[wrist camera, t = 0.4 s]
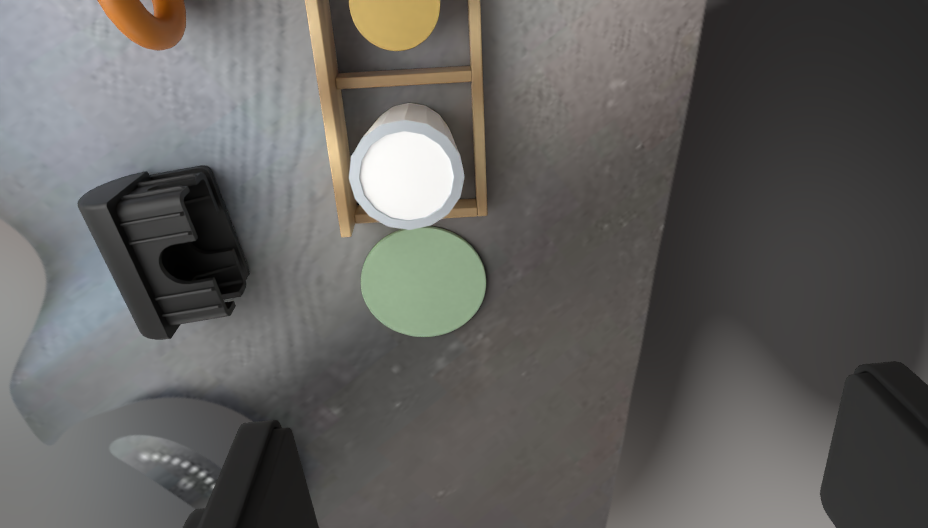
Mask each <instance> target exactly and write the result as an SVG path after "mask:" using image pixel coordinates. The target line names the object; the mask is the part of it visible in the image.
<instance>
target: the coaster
mask: <svg viewBox="0 0 928 528" xmlns="http://www.w3.org/2000/svg"><path fill="white" fill-rule="evenodd" d="M361 290H362V295H363V298H364V300H365V303H366V304H367V306H368V308H369V310H370V311H371V312H372V314H373V315H374V316H375V317H376V318H377V319H378V320H379V321H380V322H382V323H383V324H384V325H386V326H387V327H389V328H391V329H393V330H395V331H397V332H400V333H403V334H406V335H410V336H418V337H431V336H438V335H442V334H445V333H448V332H451V331H453V330H455V329H457V328H459V327H460V326H462V325H464V324H465V323H466V322H467V321H468V320H470V319H471V317H472V316H473V315H474V314H475V313H476V311H477V310H478V309H479V307H480V305H481V303H482V301H483V298H484V295H485V290H486V275H485V270H484V266H483V263H482V261H481V259H480V257H479V255H478V254H477V252H476V251H475V249H474V248H473V247H472V246H471V245H470V244H469V243H468V242H467V241H466V240H464V239H463V238H462V237H460V236H459V235H457V234H455V233H453V232H451V231H448V230H445V229H442V228H438V227H433V226H426V227H421V228H417V229H412V230H407V229H400V230H398V231H395V232H393V233H391V234H389V235H387V236H386V237H385V238H383V239H382V240H380V241H379V242H378V243H377V244H376V245H375V246H374V247H373V249H372V250H371V251H370V253H369V254H368V256H367V258H366V260H365V262H364V265H363V269H362V273H361Z"/></svg>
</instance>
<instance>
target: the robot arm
mask: <svg viewBox="0 0 928 528" xmlns="http://www.w3.org/2000/svg"><path fill="white" fill-rule="evenodd" d="M820 495H821V501H822V505H823V508H824V510H825V511H826V513H827V515H828V516H829V518H830V519H831V521H832V522H833V524H834V525H835V527H836V528H928V385H927V384H926V383H925V382H923V381H922V380H921V379H920V378H919V377H918V376H917V375H916V374H914V373H913V372H912V371H911V370H910V369H909V368H908V367H906V366H905V365H904V364H902V363H901V362H896V361H893V362H883V363H872V364H863V365H859V366H858V367H857V368H856V369H855V372H854V374H852V375H849V376H848V377H847V378H846V381H845V384H844V389H843V393H842V397H841V402H840V406H839V411H838V415H837V419H836V425H835V428H834V433H833V437H832V441H831V446H830V450H829V455H828V459H827V463H826V468H825V472H824V476H823V481H822V485H821V490H820ZM183 528H319V527H318V523H317V519H316V516H315V512H314V508H313V505H312V501H311V498H310V494H309V490H308V487H307V483H306V479H305V476H304V472H303V469H302V465H301V461H300V458H299V454H298V451H297V447H296V443H295V440H294V436H293V433H292V430H291V429H290V428H282V427H281V425H280V423H279V422H278V421H277V420H270V421H260V422H249V423H243V424H242V425H241V426H240V427H239V429H238V431H237V434H236V436H235V439H234V441H233V443H232V446H231V448H230V451H229V453H228V456H227V458H226V460H225V463H224V465H223V467H222V470H221V472H220V475H219V477H218V479H217V482H216V484H215V487H214V489H213V491H212V494H211V496H210V498H209V501H208V503H207V506H206V508H203V509H195V510H194V511H193V512H192V513H191V514H190V515H189V517H188V519H187V520H186V522H185V524H184V526H183Z"/></svg>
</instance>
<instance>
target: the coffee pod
mask: <svg viewBox="0 0 928 528" xmlns="http://www.w3.org/2000/svg"><path fill="white" fill-rule="evenodd" d="M349 8H350V13H351V16H352V19H353V21H354V24H355V25H356V27H357V29H358V30H359V32H360V33H361V34H362V35H363V36H364V37H365V38H366V39H367V40H368V41H369V42H371V43H372V44H374V45H375V46H377V47H380V48H382V49H386V50H390V51H403V50H408V49H411V48H413V47H416V46H417V45H419V44H421V43H422V42H423V41H424V40H426V38H427V37H428V36H429V35H430V34H431V32H432V31H433V29H434V28H435V26H436V23H437V21H438V17H439V13H440V0H349Z"/></svg>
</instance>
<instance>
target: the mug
mask: <svg viewBox="0 0 928 528" xmlns="http://www.w3.org/2000/svg"><path fill="white" fill-rule="evenodd" d="M97 1H98V2H99V4H100V5H101V7H102V8H103V10H104V11H105V13H106V15H107V16H108V17H109V18H110V20H111V21H112V22H113V23H114V24H115V25H116V27H117V28H118V29H119V30H120V31H121V32H122V33H123V34H124V35H126V36H127V37H128V38H129V39H130V40H131V41H133V42H135V43H137V44H138V45H140V46H142V47H145V48H148V49H153V50H157V51H158V50H165V49H169V48H172V47H173V46H175V45H176V44H177V43H178V42H179V41H180V40H181V38H182V37H183V35H184V31H185V28H186V10H185V4H184V0H152V3H153V7H154V16H153V15H152V14H151V13H150V12H149V11H147V10H146V8H145V7H144V6H143V4H142V3H141V2H140V1H139V0H97Z"/></svg>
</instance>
